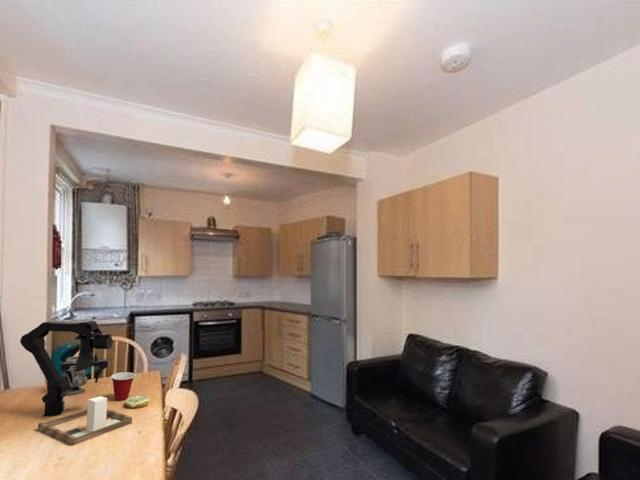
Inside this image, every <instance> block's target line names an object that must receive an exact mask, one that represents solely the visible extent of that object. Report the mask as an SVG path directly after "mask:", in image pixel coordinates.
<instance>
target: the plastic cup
mask: <svg viewBox="0 0 640 480" xmlns="http://www.w3.org/2000/svg"><path fill="white" fill-rule="evenodd" d="M110 377H111V380H112V386H113V393H114V400H115V401H116V402H125V400H126V399H127V398H129V395H130V392H131V387H132V384H133V380H134V378H135V377H136V374H135V373H133V372H127V371H125V372H122V371H121V372H116V373H113V374H112V375H111V376H110Z"/></svg>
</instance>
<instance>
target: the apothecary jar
mask: <svg viewBox="0 0 640 480" xmlns="http://www.w3.org/2000/svg"><path fill="white" fill-rule="evenodd" d="M78 356H79V355H77V356H70V357H67V358H66V361H65V362H68V361H73V362H74V363H76V361H77V359H78ZM86 370H87V369H79V370H76V367H75V368H74V383H73V385H71V383H70V385H71V388H70V390H69V392H68V393H67V394H66V396H76V395H79V394H83V393H85V391H86V389H85V388H82V387H83V386H84V385H86V384H87V383H88V381H89V378H88V377H87V376H86V375H87V374H86V372H87V371H86ZM63 373H64V374H63V377H64V376H67V377H68V380H69V381H70V378H69V376H68V374H67V373H66V372H63Z"/></svg>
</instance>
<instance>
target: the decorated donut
mask: <svg viewBox="0 0 640 480" xmlns="http://www.w3.org/2000/svg"><path fill="white" fill-rule="evenodd" d="M148 404H150V396H149V395H144V394H142V395H141V394H136V395H133V396H130V397H129V396H128V398H127V399H126V400H124V405H125V406H126V408H128V409H140V408H145V407H146V406H148Z"/></svg>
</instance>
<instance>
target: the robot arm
mask: <svg viewBox="0 0 640 480" xmlns="http://www.w3.org/2000/svg"><path fill="white" fill-rule="evenodd" d="M50 332H69V333H71V332H72V333H74V334H77V336H76V337H74V339H75V340H79V349H78V350H79V351H78V355H77V356H78V359H77V361H76V363H74V362H73V361H68V362H66V361H63V362H62V363H61V364H60V365H59V371H60V372H63V373H65V372H66V373H67V374H68V376H69V378H70V381H69V380H68V377H67V376H64V375H61V374H60V373H59V371H58V369H57V368H56V366H55V364H54V362H53V360H52V358H51V357H50V355H49V353H48V351H47V350H46V347H45V345H46V339H45V337H47V336H48V335H49V334H50ZM19 341H20V345H21V346H22V347H23V348H24V350H26V351H27V352H29V353H31V354H32V357H34V359H35V361H36V363H37V366H39V369H40V370H41V372H42V374H43V376H44V378H45V379H46V390H47V393H46V394H44V395H43V396H42V397H41V400H42V403H44V413H43V415H42V417H53V416H60V415H62V413H63V412H64V410H65V403H66V401H65V400H64V397H66V396H67V395H66V394H67V393H68V392H69V390H70V388H71V385H73V383H74V368H75V367H76V370H79V369H86V370H88V369H89V368H90V367H97V369H96V376H95V381H94V383H95V384H97V383H98V381H99V378H100V376H101V374H102V371H103V370H106V368H109V366H110V364H111V361H110V359H109V358H102V359H99V361H95V359H96V358H95V355H94V354H95V350H111V348H112V347H113V345H114V340H113V337H112V334H111V333H106V334H103V331H102V330H101V329H100V327H99V326H98V323H97V322H96V321H95V320H86V321H80V322H66V321H65V322H61V321H48V320H47V321H44V322H41V323H40V324H39V325H38V326H36V327H35V328H34V329H31V330H30V331H29V332H27V333H26V334H23V335H22V336H21V338H20V340H19ZM70 383H71V385H70Z"/></svg>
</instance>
